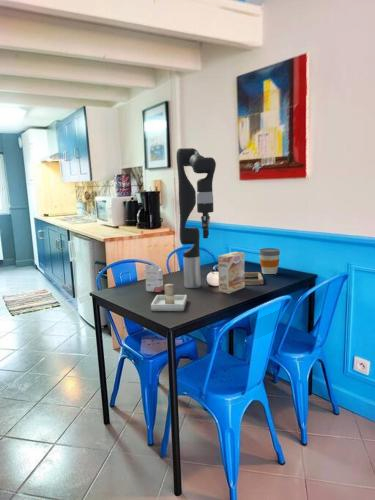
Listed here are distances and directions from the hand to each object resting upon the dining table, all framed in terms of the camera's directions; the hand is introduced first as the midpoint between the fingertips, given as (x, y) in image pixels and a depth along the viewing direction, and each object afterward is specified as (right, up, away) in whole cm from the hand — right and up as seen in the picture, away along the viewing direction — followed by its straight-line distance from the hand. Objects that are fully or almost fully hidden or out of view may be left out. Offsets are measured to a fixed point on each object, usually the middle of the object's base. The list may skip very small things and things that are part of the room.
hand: (206, 236), depth 175 cm
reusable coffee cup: (+43, -21, +60) cm, 76 cm away
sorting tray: (-17, -33, +3) cm, 37 cm away
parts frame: (+25, -24, +45) cm, 57 cm away
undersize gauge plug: (-17, -32, +3) cm, 36 cm away
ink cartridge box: (-27, -29, +30) cm, 49 cm away
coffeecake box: (+15, -28, +27) cm, 41 cm away
